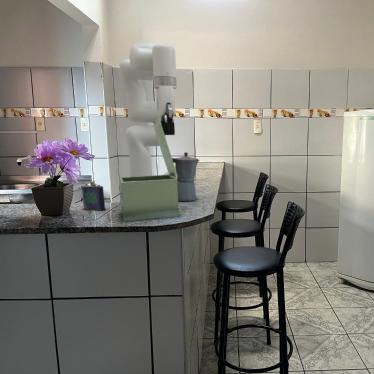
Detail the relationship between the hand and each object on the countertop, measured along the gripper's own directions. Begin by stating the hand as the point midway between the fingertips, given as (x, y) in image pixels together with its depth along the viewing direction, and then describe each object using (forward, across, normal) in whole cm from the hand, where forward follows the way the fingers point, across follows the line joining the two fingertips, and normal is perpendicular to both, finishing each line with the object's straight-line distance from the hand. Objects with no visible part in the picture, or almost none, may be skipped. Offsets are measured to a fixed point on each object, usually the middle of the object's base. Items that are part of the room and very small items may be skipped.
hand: (167, 135), depth 125 cm
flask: (+28, -18, -26) cm, 42 cm away
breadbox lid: (+5, 0, -2) cm, 5 cm away
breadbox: (+27, 0, -8) cm, 28 cm away
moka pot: (+28, -22, +9) cm, 36 cm away
